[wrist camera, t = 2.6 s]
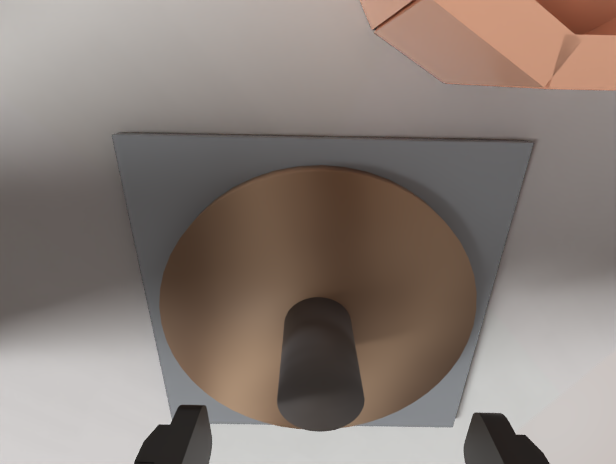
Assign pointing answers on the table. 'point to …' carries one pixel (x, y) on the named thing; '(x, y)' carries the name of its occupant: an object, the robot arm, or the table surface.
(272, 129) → the table surface
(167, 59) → the table surface
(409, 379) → the lid
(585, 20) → the bowl
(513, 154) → the mat
